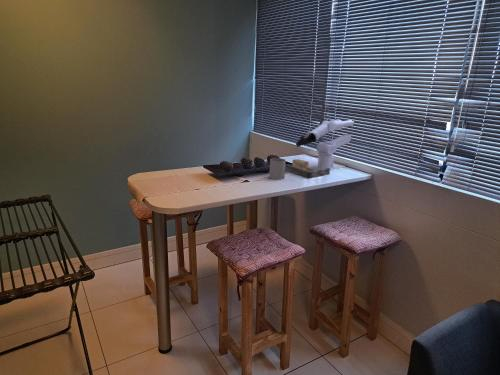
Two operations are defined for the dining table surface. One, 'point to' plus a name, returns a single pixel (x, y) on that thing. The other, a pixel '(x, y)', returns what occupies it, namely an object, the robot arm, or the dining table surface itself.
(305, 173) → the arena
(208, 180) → the dining table surface
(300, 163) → the block
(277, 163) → the cup
